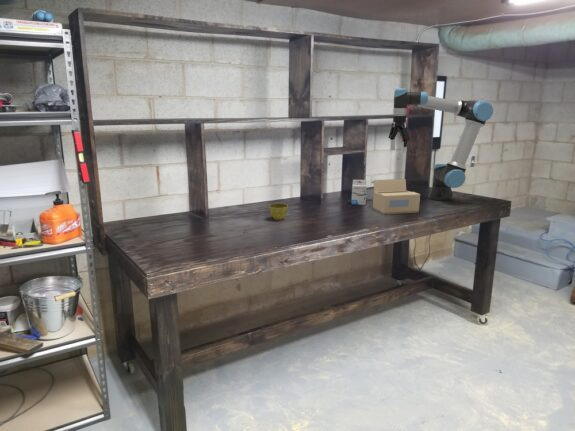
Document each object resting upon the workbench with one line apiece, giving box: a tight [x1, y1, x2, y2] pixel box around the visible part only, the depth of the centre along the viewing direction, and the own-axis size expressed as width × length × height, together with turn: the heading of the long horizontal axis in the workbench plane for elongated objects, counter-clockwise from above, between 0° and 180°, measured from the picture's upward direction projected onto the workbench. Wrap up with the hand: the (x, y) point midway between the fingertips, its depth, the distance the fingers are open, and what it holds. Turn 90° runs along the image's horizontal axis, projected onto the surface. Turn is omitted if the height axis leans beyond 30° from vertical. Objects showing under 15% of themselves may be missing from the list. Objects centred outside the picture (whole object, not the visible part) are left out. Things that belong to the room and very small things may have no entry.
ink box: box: [350, 179, 368, 206], centre depth 271 cm, size 9×5×15 cm, turn 84°
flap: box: [370, 178, 407, 193], centre depth 264 cm, size 21×8×7 cm
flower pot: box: [268, 203, 289, 221], centre depth 235 cm, size 10×10×7 cm
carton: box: [372, 190, 421, 215], centre depth 255 cm, size 22×14×11 cm, turn 105°
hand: (398, 151), depth 267 cm, fingers open, 13 cm apart
